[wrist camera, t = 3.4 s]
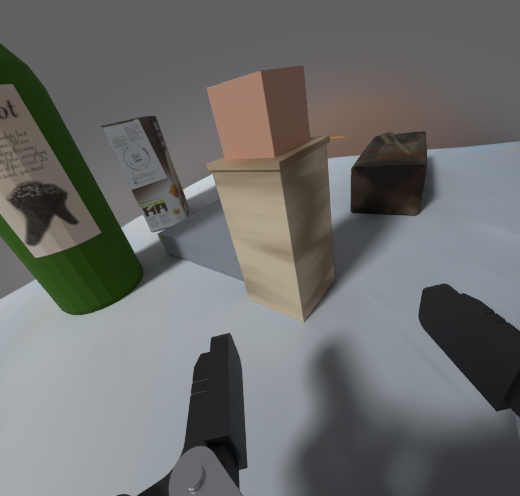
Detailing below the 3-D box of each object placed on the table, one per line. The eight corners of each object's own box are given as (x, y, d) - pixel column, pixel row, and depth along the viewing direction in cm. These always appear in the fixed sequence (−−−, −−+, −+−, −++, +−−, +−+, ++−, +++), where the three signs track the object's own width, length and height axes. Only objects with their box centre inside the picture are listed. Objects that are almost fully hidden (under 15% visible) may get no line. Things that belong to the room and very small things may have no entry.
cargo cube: (262, 144, 19) (250, 81, 17) (310, 139, 16) (303, 65, 14) (225, 159, 16) (206, 88, 14) (274, 157, 14) (260, 70, 12)
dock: (237, 208, 42) (232, 191, 41) (313, 218, 33) (311, 197, 32) (166, 252, 33) (157, 233, 32) (244, 281, 25) (236, 256, 23)
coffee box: (189, 222, 41) (148, 114, 33) (150, 233, 41) (99, 126, 33) (189, 205, 49) (155, 114, 41) (156, 214, 48) (116, 124, 40)
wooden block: (283, 264, 26) (260, 142, 20) (337, 279, 22) (329, 135, 16) (247, 300, 22) (206, 164, 16) (304, 324, 19) (278, 162, 13)
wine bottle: (67, 330, 24) (-587, -424, 7) (58, 293, 30) (-305, -157, 14) (155, 280, 28) (-126, -255, 12) (131, 257, 34) (-74, -113, 18)
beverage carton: (423, 167, 42) (429, 124, 39) (421, 219, 28) (429, 160, 25) (372, 170, 46) (373, 131, 43) (348, 217, 32) (347, 165, 29)
